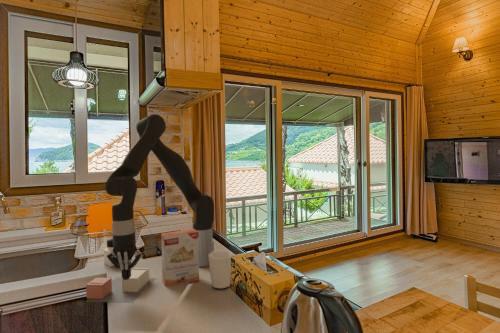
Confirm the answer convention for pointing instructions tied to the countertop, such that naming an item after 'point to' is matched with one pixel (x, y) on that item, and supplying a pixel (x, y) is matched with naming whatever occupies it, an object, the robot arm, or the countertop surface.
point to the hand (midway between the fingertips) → (126, 278)
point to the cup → (220, 268)
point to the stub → (99, 288)
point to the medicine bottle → (108, 252)
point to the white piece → (128, 287)
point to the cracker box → (180, 257)
